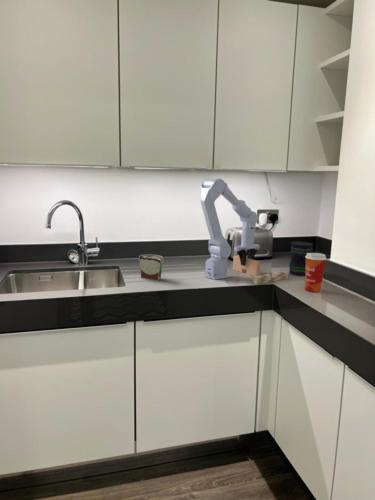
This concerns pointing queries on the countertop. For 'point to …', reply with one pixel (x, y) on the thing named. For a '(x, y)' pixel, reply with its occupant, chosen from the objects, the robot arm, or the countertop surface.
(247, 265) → the terracotta slotted plate
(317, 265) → the coffee cup
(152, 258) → the food container
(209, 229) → the robot arm
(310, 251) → the storage jar
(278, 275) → the birch slotted plate
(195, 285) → the countertop surface
